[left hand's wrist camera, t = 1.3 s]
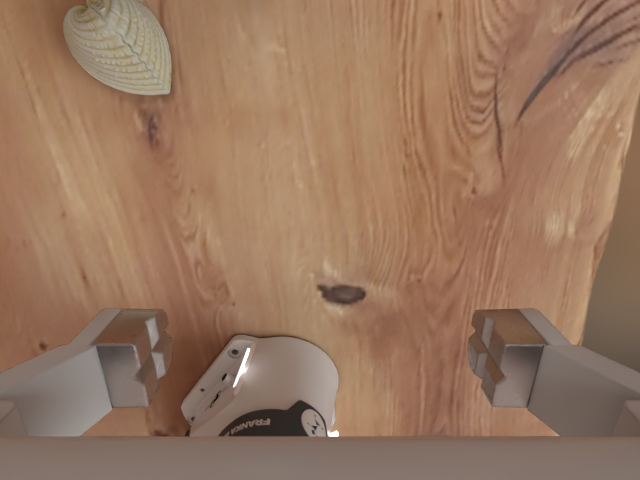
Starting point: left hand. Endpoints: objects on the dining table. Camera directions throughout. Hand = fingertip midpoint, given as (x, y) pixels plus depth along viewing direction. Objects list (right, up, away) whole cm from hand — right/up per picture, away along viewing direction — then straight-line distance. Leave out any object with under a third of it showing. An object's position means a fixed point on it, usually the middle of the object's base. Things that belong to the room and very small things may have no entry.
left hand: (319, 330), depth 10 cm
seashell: (-18, +21, +27) cm, 39 cm away
